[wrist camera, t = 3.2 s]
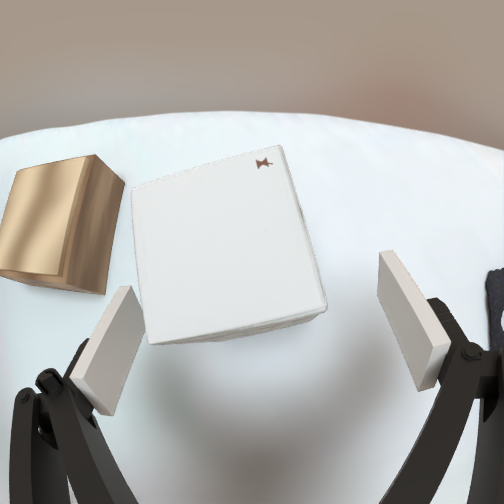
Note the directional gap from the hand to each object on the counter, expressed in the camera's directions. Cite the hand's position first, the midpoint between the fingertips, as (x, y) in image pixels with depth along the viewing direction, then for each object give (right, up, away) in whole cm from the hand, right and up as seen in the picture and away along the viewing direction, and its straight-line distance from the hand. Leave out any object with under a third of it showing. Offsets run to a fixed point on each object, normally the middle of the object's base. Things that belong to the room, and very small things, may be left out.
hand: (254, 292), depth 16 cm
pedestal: (-18, +4, +12) cm, 22 cm away
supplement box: (0, -1, +9) cm, 9 cm away
